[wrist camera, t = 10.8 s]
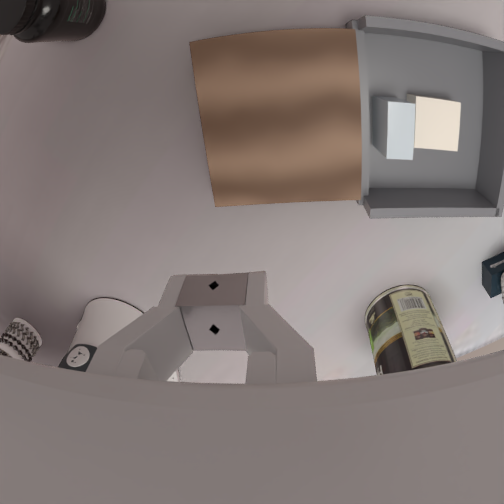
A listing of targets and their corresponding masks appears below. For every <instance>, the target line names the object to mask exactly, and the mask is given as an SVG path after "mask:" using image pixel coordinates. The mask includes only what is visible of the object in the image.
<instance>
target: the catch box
mask: <svg viewBox="0 0 504 504" xmlns="http://www.w3.org/2000/svg"><path fill="white" fill-rule="evenodd" d="M346 29H355V31H356V41H357V52H358V64H359V79H360V98H361V128H362V177H361V200H356V201H357V203H358V205H364V207H365V209H366V211H367V213H368V216H369V218H370V219H373V218H415V217H501V216H502V212H503V207H504V42H503V41H500V40H497V39H493V38H490V37H487V36H483V35H480V34H476V33H472V32H468V31H464V30H460V29H456V28H451V27H447V26H442V25H437V24H431V23H426V22H420V21H413V20H406V19H398V18H390V17H380V16H368V15H365V16H363V17H362V18H360V19H359V20H351V21H350V22H348V23H347V24H346ZM407 94H415V95H424V96H431V97H439V98H445V99H451V100H454V101H457V102H461V112H460V128H459V140H458V151H448V150H437V149H424V148H414V149H413V160H403V159H386V158H385V157H384V156H383V155H382V154H381V153H380V152H379V151H378V150H377V149H376V148H375V147H374V146H373V145H372V132H373V96H383V97H396V98H400V99H403V100H406V101H407Z"/></svg>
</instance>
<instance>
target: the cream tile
mask: <svg viewBox="0 0 504 504" xmlns="http://www.w3.org/2000/svg"><path fill="white" fill-rule="evenodd" d="M407 101H409V102H412V103H414V104H415V132H414V148H424V149H437V150H448V151H458V140H459V128H460V112H461V102H457V101H454V100H451V99H445V98H439V97H431V96H424V95H415V94H407Z"/></svg>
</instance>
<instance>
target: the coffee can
mask: <svg viewBox="0 0 504 504" xmlns="http://www.w3.org/2000/svg"><path fill="white" fill-rule="evenodd" d="M365 324H366V327H367V330H368V334H369V339H370V343H371V348H372V353H373V358H374V363H375V368H376V373H377V375H382V374H390V373H396V372H403V371H409V370H415V369H421V368H427V367H432V366H438V365H443V364H448V363H452V362H457V360H456V357H455V355H454V352H453V350H452V347H451V345H450V342H449V340H448V337H447V335H446V333H445V330H444V328H443V326H442V323H441V321H440V319H439V317H438V314H437V312H436V310H435V308H434V306H433V304H432V301H431V298H430V296H429V294H428V293H427V292H426V291H425V290H424V289H422V288H420V287H418V286H413V285H403V286H398V287H394V288H392V289H389V290H387V291H386V292H384V293H382V294H381V295H379V296H378V297H377V298H376V299H375V300H374V301H373V302H372V303H371V304H370V306H369V307H368V309H367V312H366V315H365Z"/></svg>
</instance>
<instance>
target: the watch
mask: <svg viewBox="0 0 504 504" xmlns="http://www.w3.org/2000/svg"><path fill="white" fill-rule="evenodd" d="M482 285H483V287H484V288H485V290H486V291H487V293H488V294H489V296H490V298H492V297H494V296H497V295H499V294H501V293H502V295H503V297H502V299H503V302H504V252H503V253H501V254H499V255H496V256H494V257H492V258H490V259H488V260H485V261H483V262H482Z"/></svg>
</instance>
